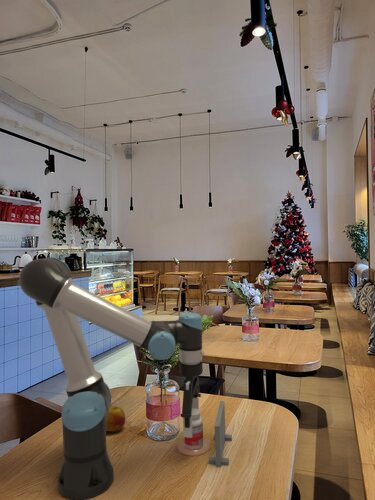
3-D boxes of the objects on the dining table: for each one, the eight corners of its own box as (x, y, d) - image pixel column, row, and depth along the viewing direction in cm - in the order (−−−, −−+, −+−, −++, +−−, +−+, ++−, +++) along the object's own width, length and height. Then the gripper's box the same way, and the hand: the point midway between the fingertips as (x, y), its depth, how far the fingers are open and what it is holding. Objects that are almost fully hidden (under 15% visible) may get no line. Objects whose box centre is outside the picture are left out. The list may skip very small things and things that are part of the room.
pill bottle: (183, 441, 126) (182, 408, 126) (202, 439, 126) (201, 406, 126) (185, 451, 120) (184, 416, 119) (204, 449, 120) (203, 415, 120)
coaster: (208, 457, 117) (208, 455, 117) (173, 454, 119) (173, 452, 119) (212, 439, 128) (212, 437, 128) (180, 437, 130) (180, 435, 130)
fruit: (130, 425, 140) (129, 403, 140) (119, 437, 131) (118, 414, 131) (106, 422, 142) (105, 401, 142) (94, 434, 133) (93, 411, 133)
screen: (228, 467, 111) (227, 426, 111) (208, 465, 112) (206, 425, 112) (232, 436, 129) (231, 401, 129) (214, 435, 130) (213, 400, 130)
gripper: (196, 374, 110) (197, 447, 110) (207, 351, 134) (207, 410, 135) (171, 373, 111) (172, 445, 111) (186, 350, 136) (186, 409, 136)
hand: (191, 426), depth 123 cm, fingers open, 13 cm apart
